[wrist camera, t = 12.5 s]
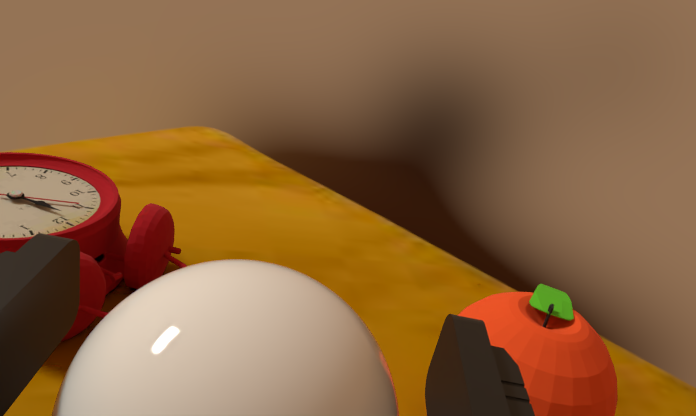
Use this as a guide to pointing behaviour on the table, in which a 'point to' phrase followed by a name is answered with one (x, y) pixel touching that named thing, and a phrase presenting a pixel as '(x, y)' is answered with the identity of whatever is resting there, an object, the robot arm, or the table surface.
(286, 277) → the lightbulb
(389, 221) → the table surface
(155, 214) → the alarm clock
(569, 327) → the clementine
